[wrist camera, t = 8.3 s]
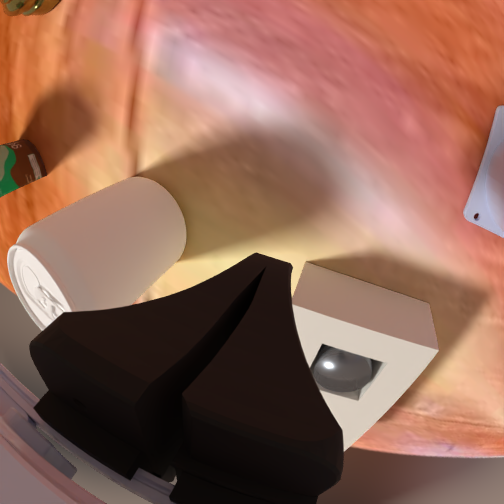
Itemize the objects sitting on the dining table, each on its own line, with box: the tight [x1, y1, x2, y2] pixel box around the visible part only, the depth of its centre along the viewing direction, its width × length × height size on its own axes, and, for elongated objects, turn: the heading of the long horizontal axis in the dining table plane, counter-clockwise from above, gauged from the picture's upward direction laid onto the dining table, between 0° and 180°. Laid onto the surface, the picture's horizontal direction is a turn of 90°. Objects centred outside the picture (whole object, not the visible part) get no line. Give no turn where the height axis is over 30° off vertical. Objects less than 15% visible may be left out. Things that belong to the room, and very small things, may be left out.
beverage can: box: [7, 177, 186, 331], centre depth 19 cm, size 8×8×12 cm
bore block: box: [292, 262, 439, 451], centre depth 23 cm, size 10×18×5 cm, turn 170°
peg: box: [314, 344, 372, 392], centre depth 21 cm, size 4×4×4 cm
